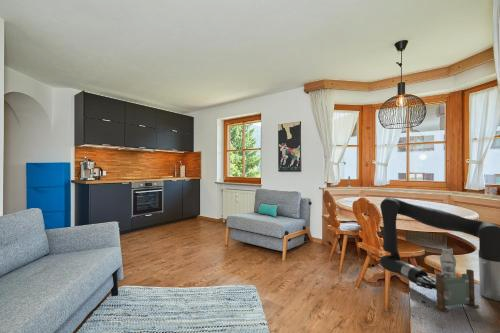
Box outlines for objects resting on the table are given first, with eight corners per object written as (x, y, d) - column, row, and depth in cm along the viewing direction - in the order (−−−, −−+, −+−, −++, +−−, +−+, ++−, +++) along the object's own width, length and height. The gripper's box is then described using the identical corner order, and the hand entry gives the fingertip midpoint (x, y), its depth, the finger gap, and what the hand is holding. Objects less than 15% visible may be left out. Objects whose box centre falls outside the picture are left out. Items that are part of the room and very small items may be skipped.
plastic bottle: (461, 293, 118) (459, 250, 119) (444, 292, 120) (443, 250, 120) (453, 287, 125) (451, 246, 125) (437, 286, 126) (436, 246, 127)
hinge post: (470, 302, 110) (468, 268, 110) (479, 307, 106) (477, 271, 107) (463, 303, 109) (462, 269, 109) (472, 308, 106) (470, 272, 106)
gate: (465, 301, 108) (464, 273, 108) (469, 303, 107) (468, 275, 107) (441, 304, 106) (440, 275, 106) (445, 306, 104) (444, 277, 105)
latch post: (442, 306, 107) (441, 271, 107) (451, 312, 103) (450, 275, 103) (433, 308, 106) (432, 272, 106) (443, 313, 102) (441, 276, 102)
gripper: (401, 267, 123) (432, 283, 106) (425, 265, 125) (459, 281, 108) (402, 282, 123) (432, 301, 105) (425, 280, 125) (459, 298, 108)
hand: (446, 291), depth 107 cm, fingers closed
